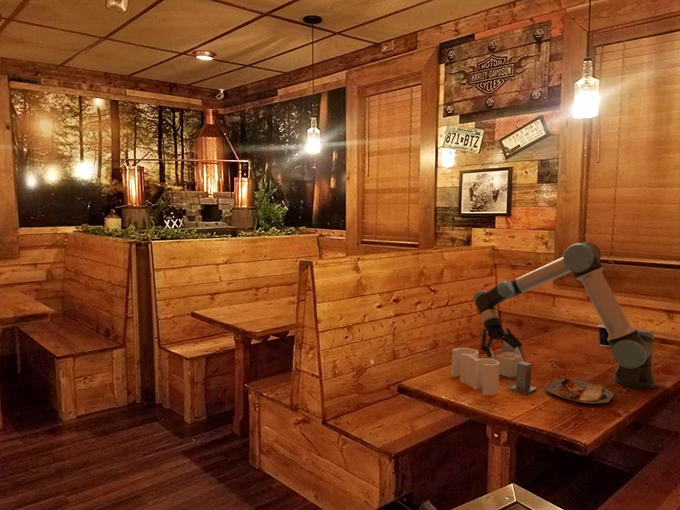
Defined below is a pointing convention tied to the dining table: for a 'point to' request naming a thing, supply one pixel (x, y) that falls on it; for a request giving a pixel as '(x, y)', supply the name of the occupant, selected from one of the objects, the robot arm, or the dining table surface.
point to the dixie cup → (603, 336)
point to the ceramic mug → (510, 348)
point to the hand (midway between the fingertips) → (508, 362)
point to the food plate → (589, 390)
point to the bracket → (475, 370)
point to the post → (523, 379)
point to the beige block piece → (508, 363)
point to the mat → (508, 377)
